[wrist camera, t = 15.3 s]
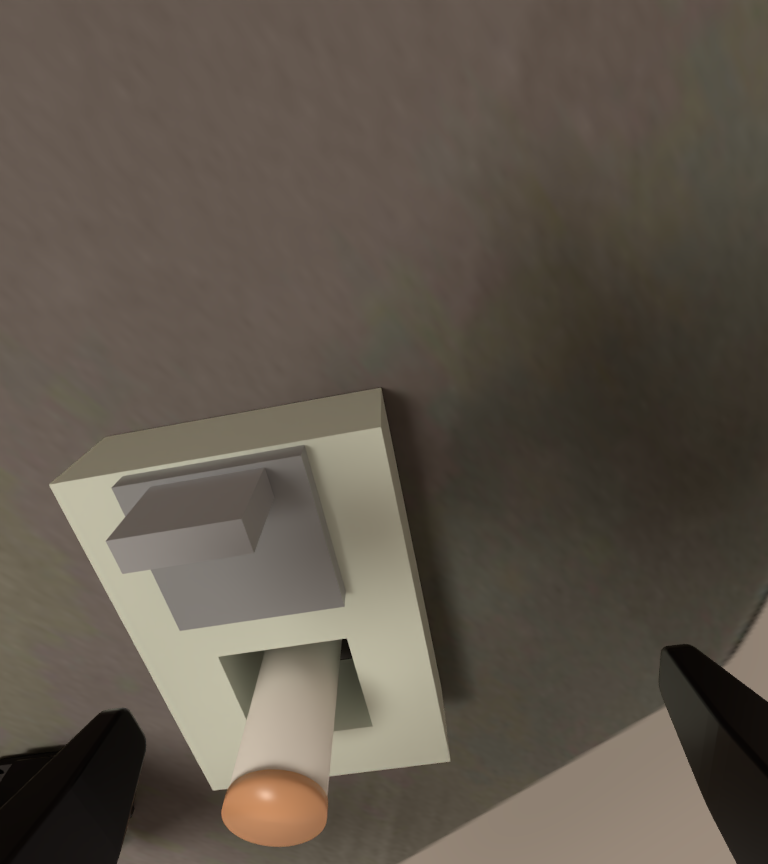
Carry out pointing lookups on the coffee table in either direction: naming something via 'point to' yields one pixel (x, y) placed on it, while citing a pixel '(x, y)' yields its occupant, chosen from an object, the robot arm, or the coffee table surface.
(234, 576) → the shutter
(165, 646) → the socket block
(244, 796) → the plug
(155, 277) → the coffee table surface
